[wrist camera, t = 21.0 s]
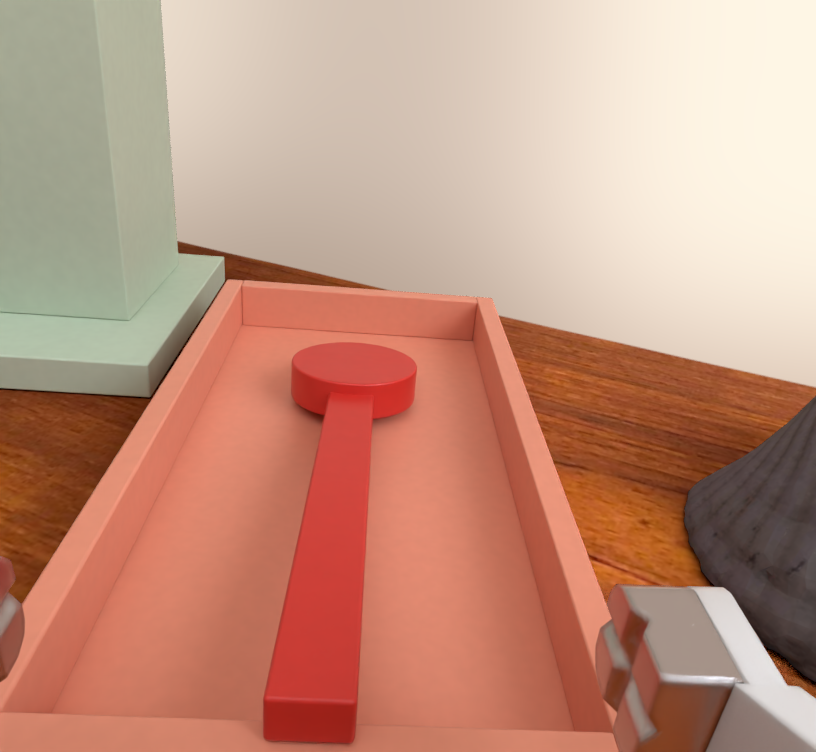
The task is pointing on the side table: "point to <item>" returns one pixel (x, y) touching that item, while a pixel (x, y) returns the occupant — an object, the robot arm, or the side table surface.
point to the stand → (90, 202)
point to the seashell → (765, 537)
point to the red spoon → (331, 542)
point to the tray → (276, 542)
